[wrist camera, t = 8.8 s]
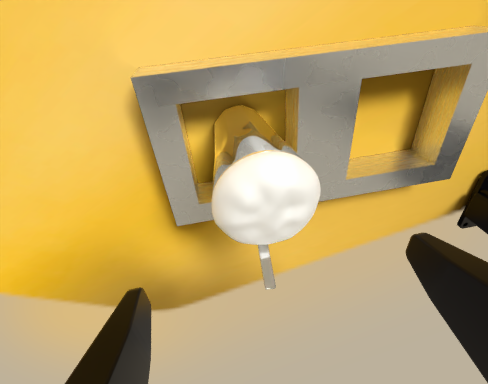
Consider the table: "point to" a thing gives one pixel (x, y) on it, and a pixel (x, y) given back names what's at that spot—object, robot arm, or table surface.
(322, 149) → the block
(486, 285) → the robot arm
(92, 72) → the table surface
